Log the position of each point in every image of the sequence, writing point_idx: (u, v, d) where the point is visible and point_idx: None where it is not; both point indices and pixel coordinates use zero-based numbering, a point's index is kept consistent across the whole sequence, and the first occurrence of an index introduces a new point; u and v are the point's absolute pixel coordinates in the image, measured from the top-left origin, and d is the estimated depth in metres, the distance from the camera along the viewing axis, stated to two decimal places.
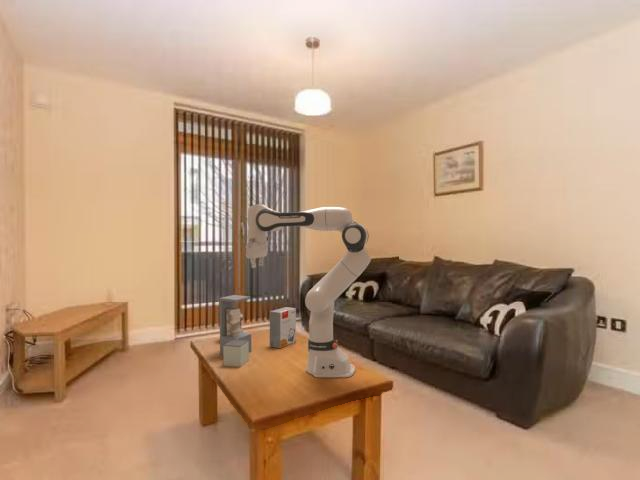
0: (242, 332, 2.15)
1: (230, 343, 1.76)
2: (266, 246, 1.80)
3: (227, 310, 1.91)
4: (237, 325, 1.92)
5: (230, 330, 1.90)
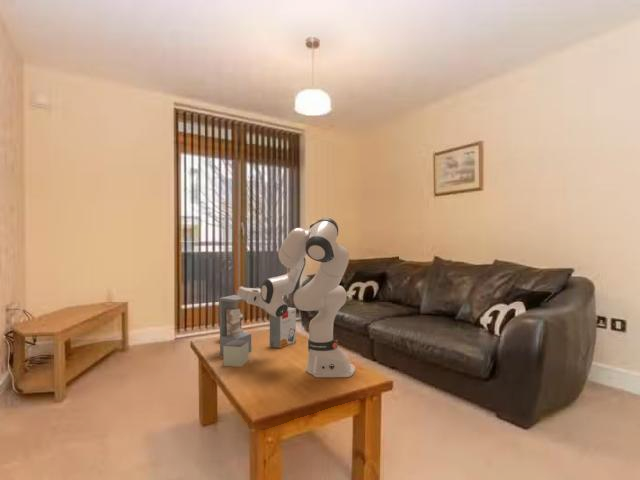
0: (242, 332, 2.15)
1: (230, 343, 1.76)
2: (247, 290, 1.75)
3: (227, 310, 1.91)
4: (237, 325, 1.92)
5: (230, 330, 1.90)
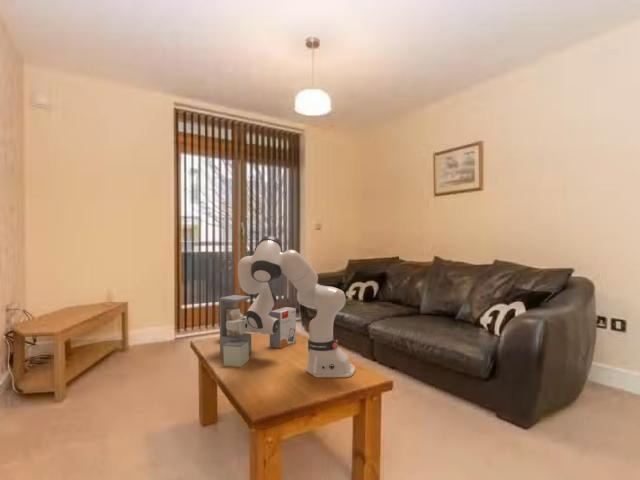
0: None
1: (230, 343, 1.76)
2: None
3: (227, 310, 1.91)
4: None
5: (230, 330, 1.90)
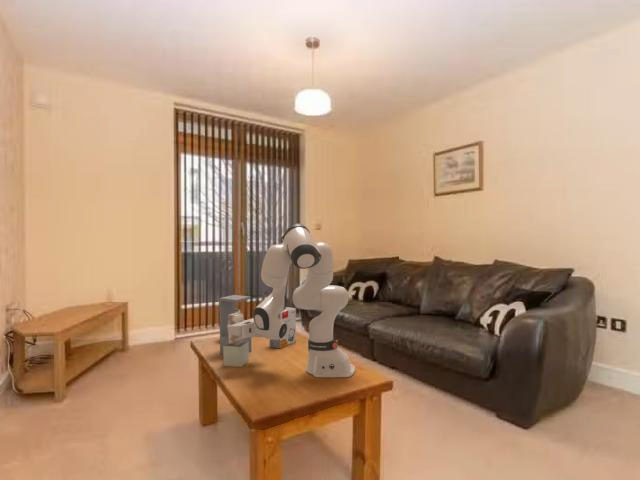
0: None
1: None
2: None
3: (229, 316, 1.75)
4: None
5: (233, 338, 1.74)
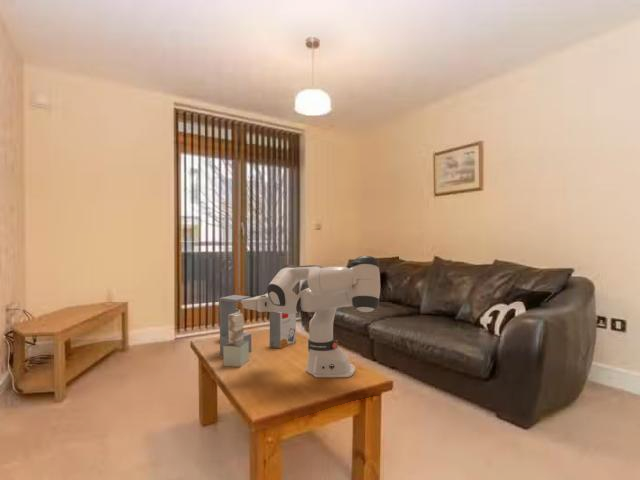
0: None
1: None
2: None
3: (229, 316, 1.75)
4: (240, 332, 1.76)
5: (233, 338, 1.74)
